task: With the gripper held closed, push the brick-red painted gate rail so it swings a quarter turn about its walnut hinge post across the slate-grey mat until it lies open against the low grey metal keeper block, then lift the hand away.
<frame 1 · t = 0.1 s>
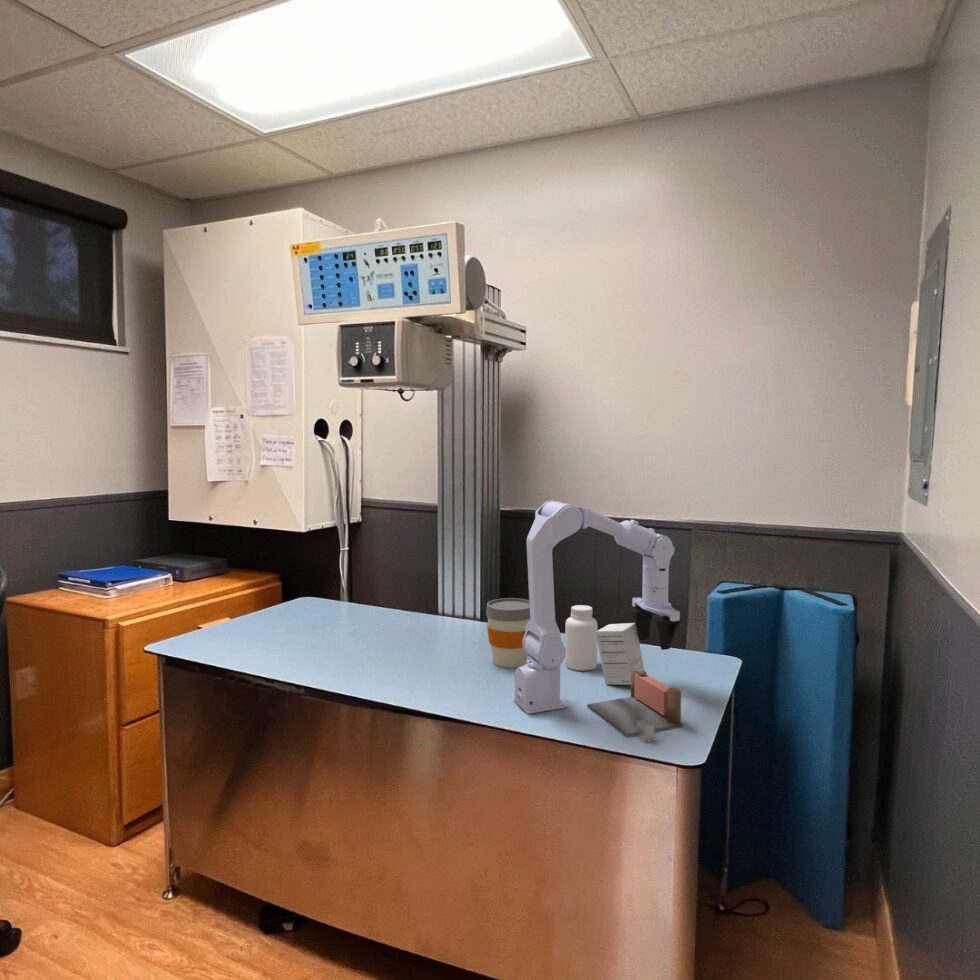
hand: (654, 644, 158), 10 cm above the table, fingers open, 7 cm apart
gate frame: (673, 723, 139), on the table
reusable coffee cup: (510, 662, 177), on the table
gate rail: (653, 691, 146), point 4 cm above the table, hinge at 0.0°
pill bottle: (581, 666, 173), on the table
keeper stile: (645, 738, 133), on the table
supplement box: (625, 681, 162), point 1 cm above the table
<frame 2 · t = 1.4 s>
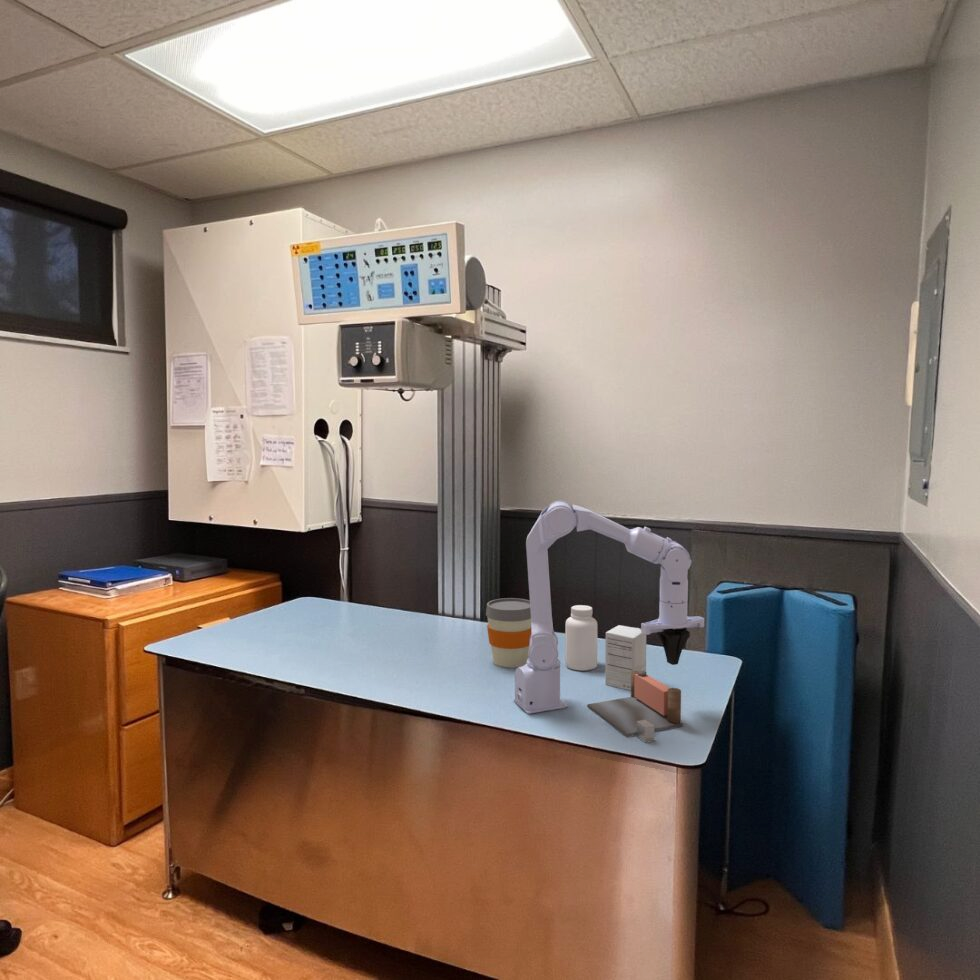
hand: (672, 663, 147), 10 cm above the table, fingers closed
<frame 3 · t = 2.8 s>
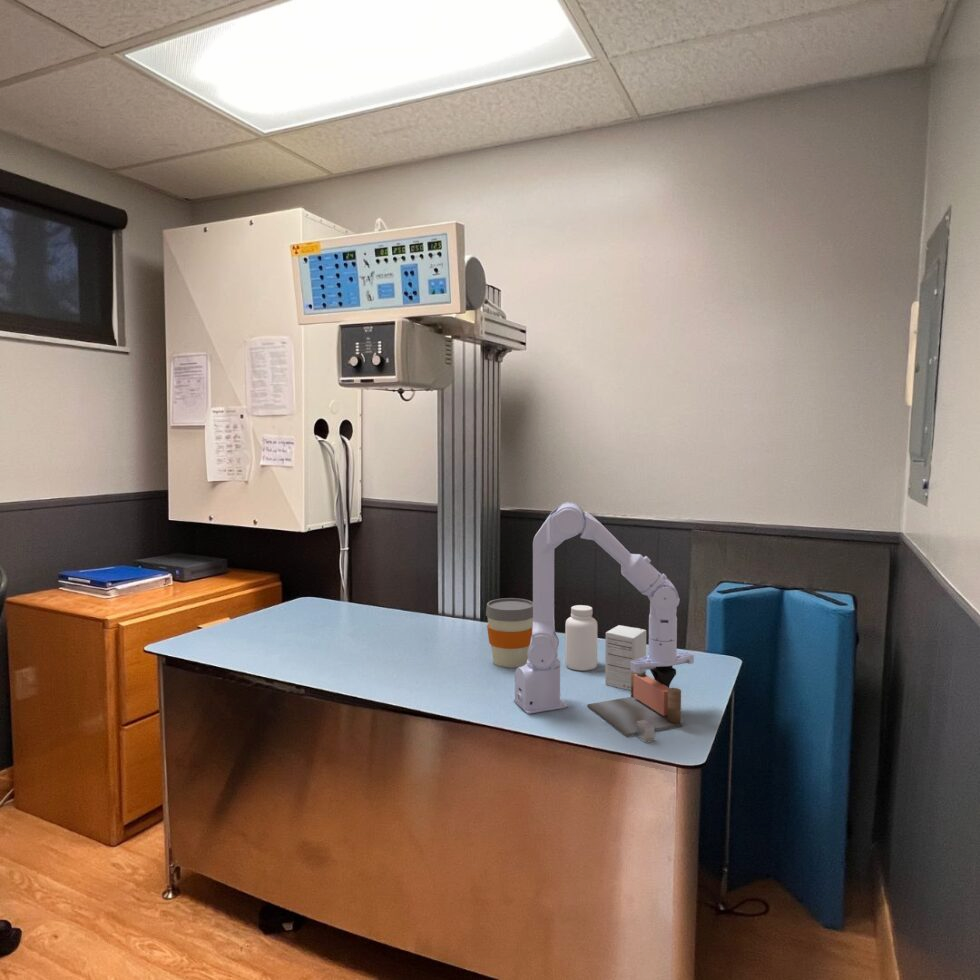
hand: (662, 700, 146), 2 cm above the table, fingers closed, pressing on gate rail
gate rail: (652, 691, 146), point 4 cm above the table, hinge at 1.2°, touching gripper
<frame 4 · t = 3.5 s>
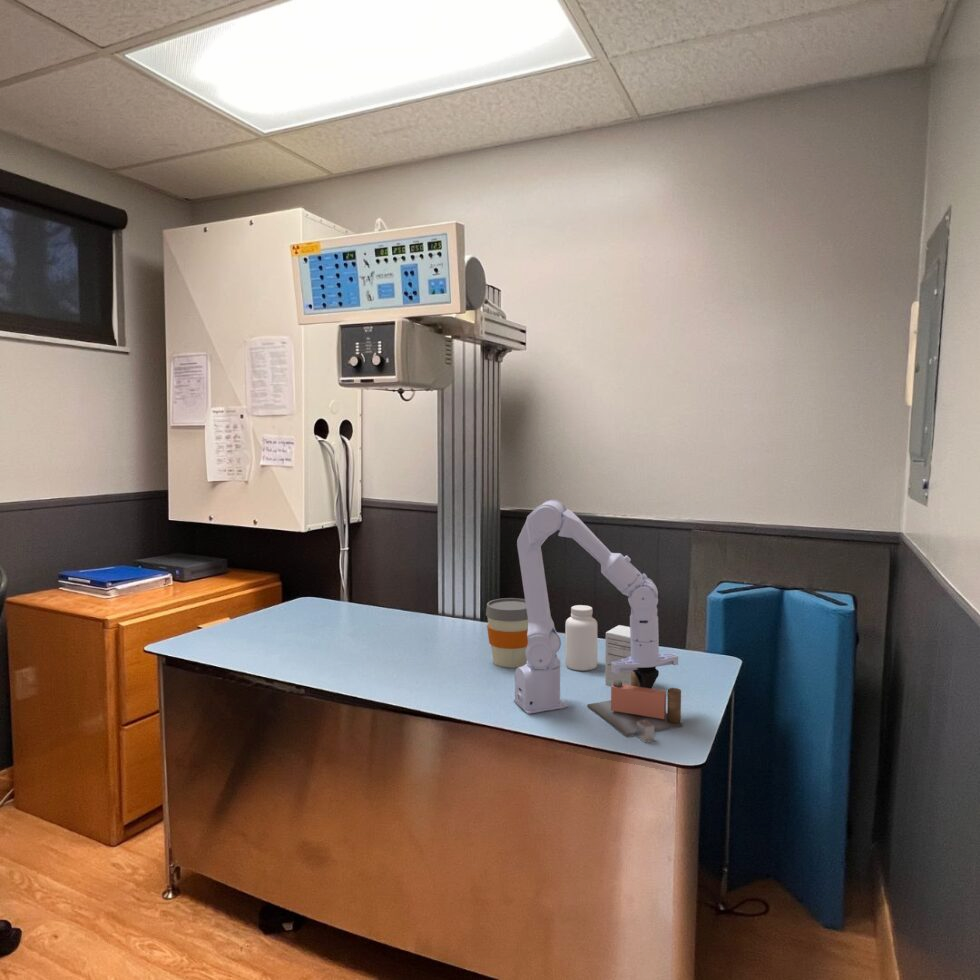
hand: (645, 701, 144), 2 cm above the table, fingers closed, pressing on gate rail
gate rail: (638, 699, 142), point 4 cm above the table, hinge at 44.9°, touching gripper
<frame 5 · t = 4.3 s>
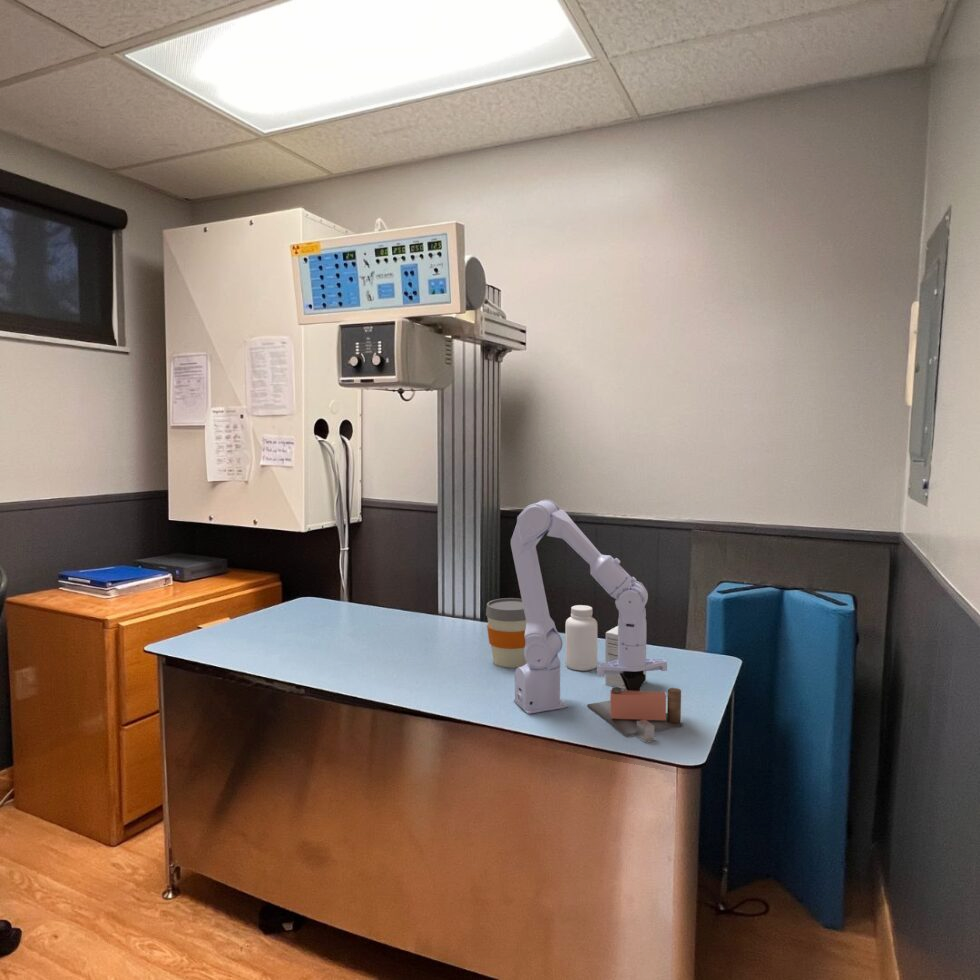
hand: (631, 705, 143), 2 cm above the table, fingers closed, pressing on gate rail
gate rail: (637, 703, 140), point 4 cm above the table, hinge at 63.0°, touching gripper
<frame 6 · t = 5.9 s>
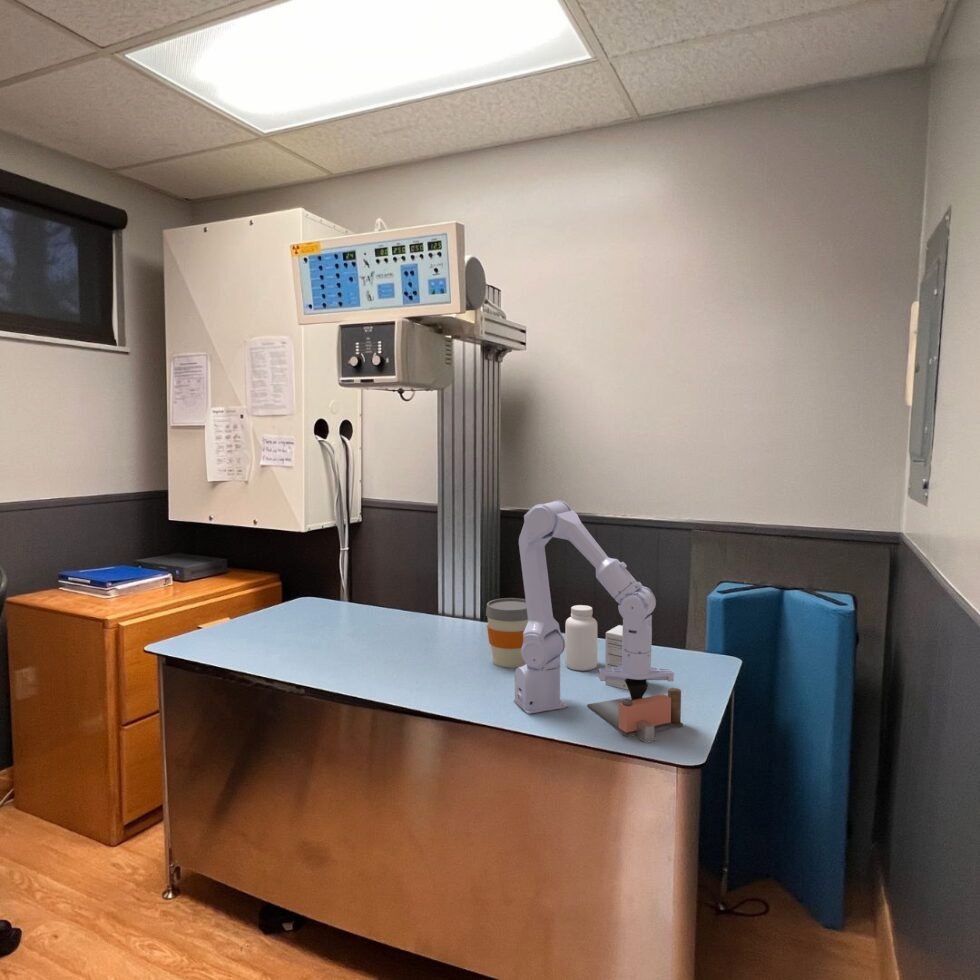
hand: (635, 714, 139), 2 cm above the table, fingers closed, pressing on gate rail
gate rail: (645, 711, 136), point 4 cm above the table, hinge at 94.1°, touching gripper, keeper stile
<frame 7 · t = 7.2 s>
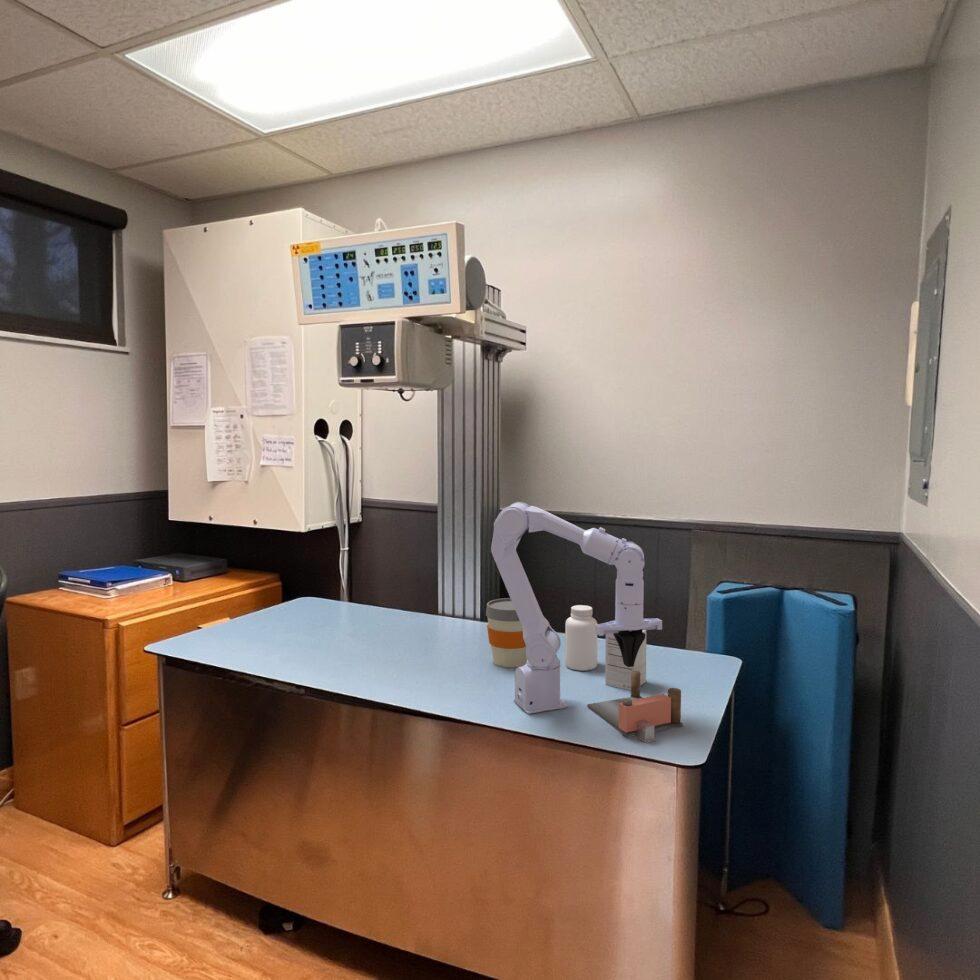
hand: (628, 665, 145), 10 cm above the table, fingers closed
gate rail: (645, 711, 136), point 4 cm above the table, hinge at 94.0°, touching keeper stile
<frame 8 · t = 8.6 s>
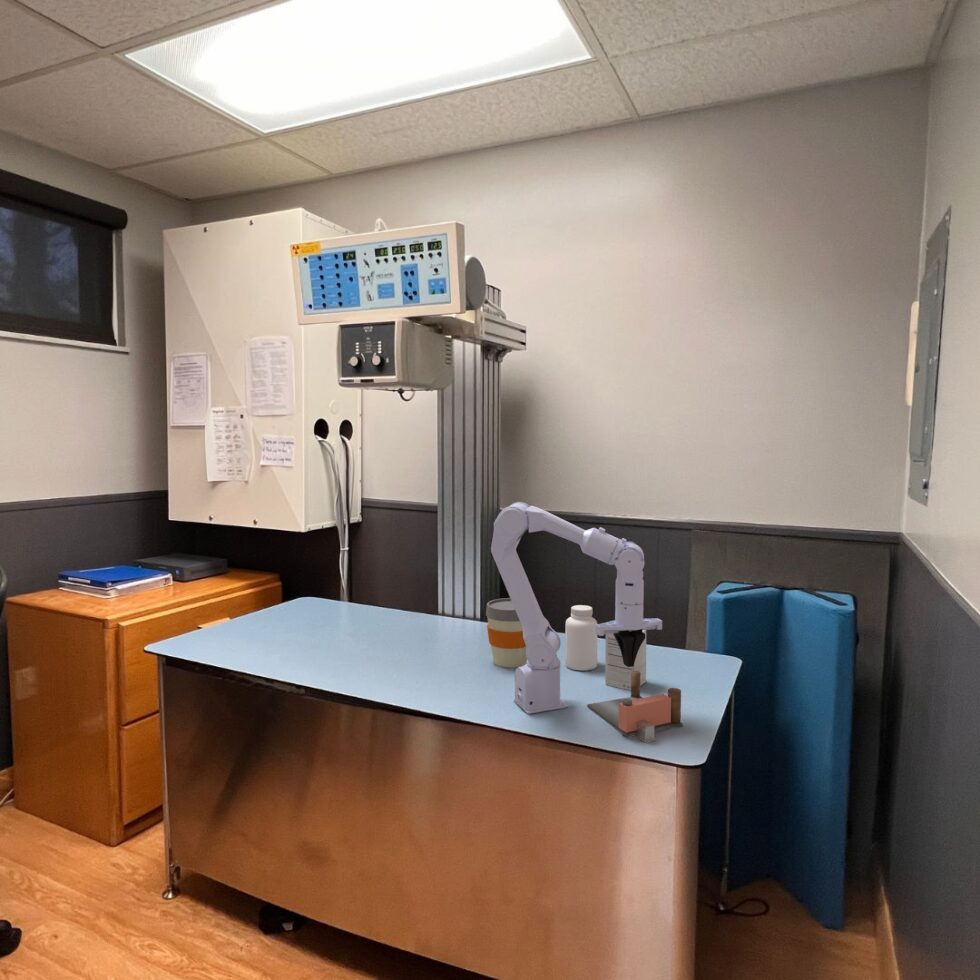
hand: (628, 665, 145), 10 cm above the table, fingers closed
at the end: gate rail at +94° (first picture: +0°) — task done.
